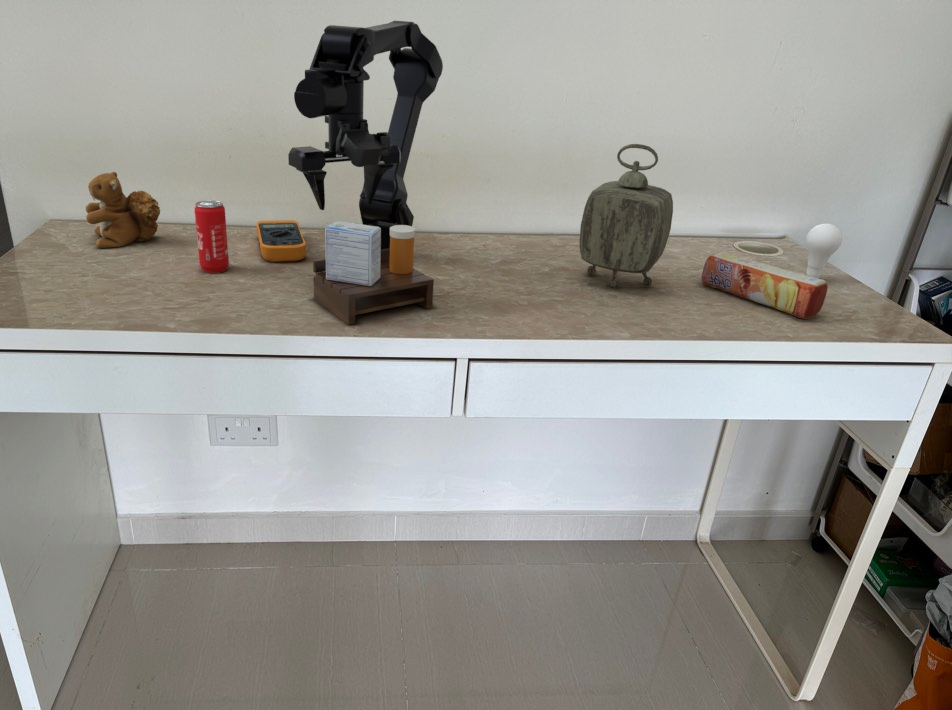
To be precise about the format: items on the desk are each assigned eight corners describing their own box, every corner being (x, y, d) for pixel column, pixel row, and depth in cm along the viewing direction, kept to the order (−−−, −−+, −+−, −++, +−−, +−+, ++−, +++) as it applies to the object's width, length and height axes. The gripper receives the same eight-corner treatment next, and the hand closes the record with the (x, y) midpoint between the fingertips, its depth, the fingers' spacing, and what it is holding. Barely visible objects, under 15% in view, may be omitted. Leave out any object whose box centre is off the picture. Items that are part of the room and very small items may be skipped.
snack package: (695, 285, 144) (704, 250, 141) (716, 279, 148) (725, 245, 144) (802, 323, 129) (814, 285, 126) (823, 316, 133) (835, 278, 130)
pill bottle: (404, 265, 132) (406, 223, 128) (418, 272, 129) (420, 230, 125) (383, 268, 130) (384, 226, 126) (397, 276, 127) (398, 233, 123)
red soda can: (222, 275, 138) (217, 208, 132) (195, 272, 139) (188, 205, 133) (233, 266, 143) (229, 201, 137) (207, 263, 143) (201, 198, 138)
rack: (394, 285, 137) (395, 247, 134) (432, 307, 129) (434, 267, 125) (313, 300, 129) (312, 260, 126) (348, 324, 121) (348, 282, 117)
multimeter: (262, 264, 145) (261, 246, 143) (256, 236, 160) (255, 219, 158) (307, 262, 146) (307, 244, 145) (298, 234, 162) (297, 218, 160)
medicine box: (381, 279, 125) (382, 226, 121) (370, 287, 121) (371, 233, 117) (336, 272, 127) (336, 220, 123) (325, 280, 124) (324, 227, 119)
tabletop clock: (659, 285, 144) (687, 146, 131) (647, 299, 136) (677, 154, 124) (583, 270, 149) (604, 135, 137) (569, 283, 142) (590, 143, 130)
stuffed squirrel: (92, 234, 156) (82, 167, 150) (165, 232, 159) (158, 167, 153) (87, 249, 148) (75, 179, 141) (163, 246, 151) (155, 178, 145)
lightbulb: (828, 277, 152) (846, 222, 146) (829, 287, 147) (847, 230, 141) (795, 272, 154) (811, 217, 148) (794, 281, 149) (811, 225, 144)
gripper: (317, 121, 115) (318, 225, 123) (420, 116, 125) (416, 212, 132) (285, 111, 123) (288, 208, 131) (384, 106, 133) (382, 197, 140)
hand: (345, 206), depth 133 cm, fingers open, 9 cm apart
